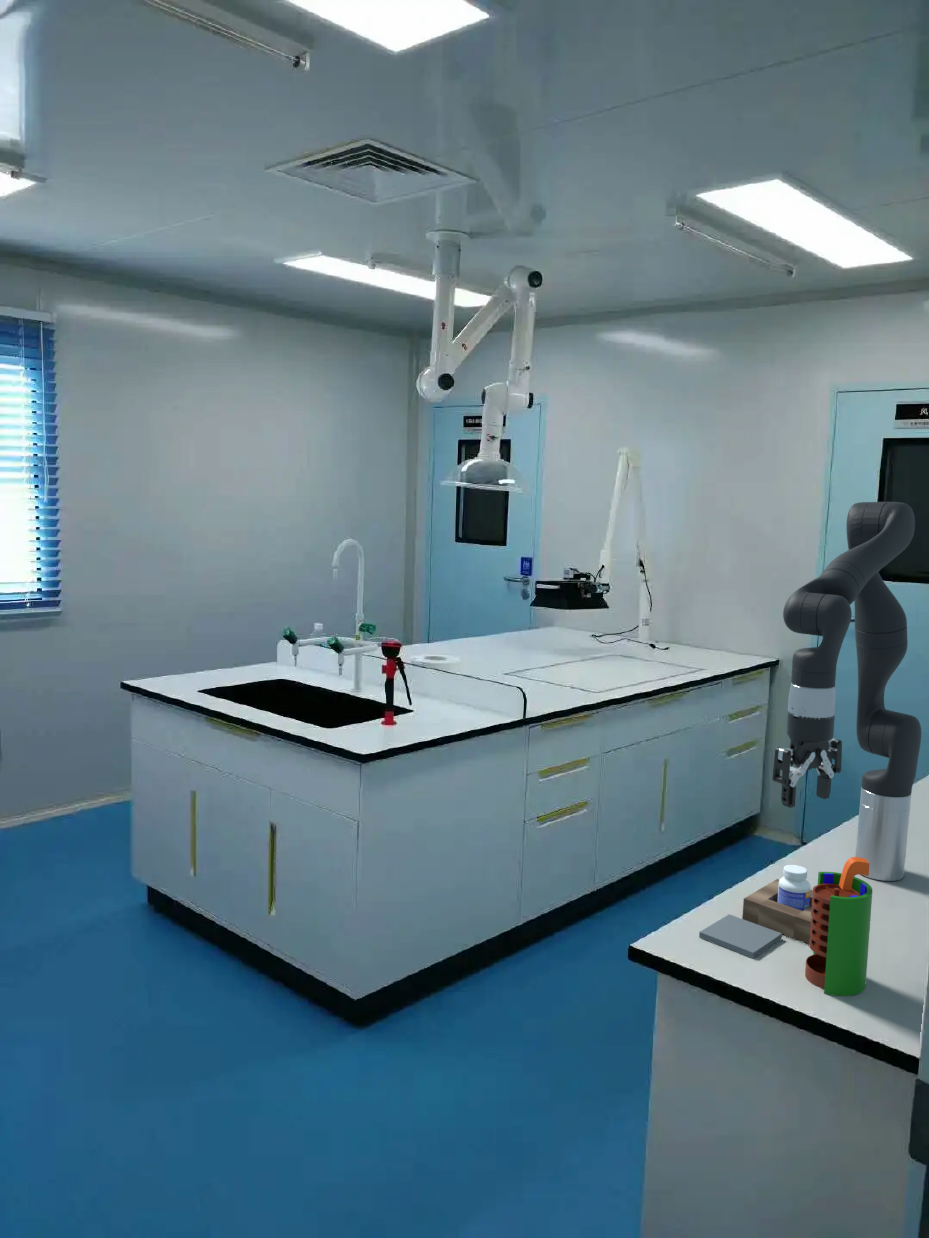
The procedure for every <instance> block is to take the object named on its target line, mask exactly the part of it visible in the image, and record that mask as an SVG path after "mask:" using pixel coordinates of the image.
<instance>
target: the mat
mask: <svg viewBox="0 0 929 1238" xmlns="http://www.w3.org/2000/svg"><path fill="white" fill-rule="evenodd" d="M698 935H699V936H698V937H699V939H702V940H705V941H707V942H710V943H713V944H715V945H718V946H719V947H720V946H721V947H723V948H725V949H727V950H731V951H733V952H736V953H738V954H740V955H744V956H746V957H749V958H751V959H754V958H757V956H759V955H760V954H761V953H763V952H765V951H766V950H768V949H769V948H770V946H771V947H772V946H773V945H775V944H776V943H778V942H779V941H781V940H782V939H781V938H782V937H783V936H782V933H779V932H777V931H774V930H771V929H768V928H766V927H763V926H760V925H757V924H755V923H752V922H749V921H746V920H744V919H742V917H738V916H736V915H733V914H731V913H730V914H727V915H726V916H724V917H722V918H721V919H719V920H717V921H716V922H714V923H712V924H710V925H709V926H707V927H706V928H704V929H702V930H701V931H699V933H698ZM780 939H781V940H780Z"/></svg>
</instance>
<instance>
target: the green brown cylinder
mask: <svg viewBox="0 0 929 1238" xmlns="http://www.w3.org/2000/svg"><path fill="white" fill-rule="evenodd" d="M869 864H870V863H869V862H868V861H867V860H866V859H864V858H859V857H855V856H852V857H849V858H848V859H847V860H846V862H845V863H844V865H843V868H842V871H841V872H836V871H835V872H833V871H818V872H817V873H818V874H817V885H815V886H813V887H812V890H813V892H812V894H813V896H814V897H813V898H812V906H813V908H812V909H811V916H812V918H811V924H810V925H811V929H810V937H811V938H810V940H809V944H808V945H809V946H808V947H809V949H810V950H811V951H812V954H811V955H809V956H807V958H806V959H805V966H804V967H805V969H804V970H805V971H804V975H805V978H806V980H807V981H808V982H809V983H810V984H812V985H813V986H815V987H817V988H820V989H822V990H823V993H824V994H827V995H829V996H830V995H831V996H836V997H837V996H838V997H849V996H850V997H852V996H856V995H858V994H861V993H862V992H863V991H864V990H865V989H866V983H867V969H868V959H869V957H868V956H869V944H870V943H869V942H870V932H871V931H870V930H871V916H872V905H873V904H872V902H873V888H872V886H871V885H870V884H869V883H868V882H867V881H865V880H863V879H861V878H858V877H856V876H857V875H861V876H863V875H866V876H869ZM866 876H865V877H866Z"/></svg>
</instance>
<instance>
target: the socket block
mask: <svg viewBox="0 0 929 1238" xmlns="http://www.w3.org/2000/svg"><path fill="white" fill-rule="evenodd" d="M779 880H780V879H778V878H776V879H775V880H773V881H771V882H768V884H766V885H763V886H762V887H760V888H759V889H758V890H756V891H755V892H752V893H750V894H749V895H747V896H746V897H744V898H743V905H742V915H741V916H742V917H741V919H744V920H746V921H749V922H752V923H755V924H757V925H760V926H763V927H766V928H768V929H771V930H774V931H777V932H779V933H782V934H784V935H783V936H785V937H788V938H792V939H793V938H795V939H794V940H796V939H797V940H796V941H800V942H801V943H805V944H808V945H809V940H810V938H811V937H810V929H811V925H810V924H811V918H812V916H811V909H812V908H813V906H812V898H813V897H814V896H813V894H812V892H813V889H810V903H809V907H808V908H807V909H805V910H804V911H801V910H798V909H795V908H792V907H789V906H786V905H784V904H781V903H778V886H779Z"/></svg>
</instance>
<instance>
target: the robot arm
mask: <svg viewBox="0 0 929 1238" xmlns="http://www.w3.org/2000/svg"><path fill="white" fill-rule="evenodd" d="M915 519H916V518H915V514H914V510H913V509H912V507H911V506H910V505H909V504H907V503H905V502H901V501H900V502H898V501H862V502H860V501H859V502H857V503H854V504H852V505H851V506H850V508H849V509H848V511H847V517H846V524H845V525H846V541H847V548H848V549H847V550H846V551H844V552H843V553H841V554H839V555H838V556H836V557H835V558H833V559H832V560H831V561H830V563H828V564H827V566H826V567H825V568H824V570H823V571H822V572H821V574H820V575H819V576H818V577H816V578H814V579H812V580H810V581H809V582H807V583H806V584H804V585H803V586H801V587H799V588H798V589H796V590H795V591H794V592H792V594H790V596H789V597H788V599H787V600H786V602H785V604H784V607H783V611H782V612H783V613H782V618H783V621H784V624H785V626H786V627H787V628H788V629H789V631H791V632H793V633H797V634H800V635H801V634H802V635H812V636H819V637H822V640H821V643H820V644H819V646H815V647H814V646H813V647H804V648H799V649H797V650H795V652H793V654H792V659H791V660H792V661H791V662H792V663H791V677H790V687H789V693H788V703H787V704H788V705H787V720H786V721H787V722H786V734H787V736H788V738H789V740H790V743H789V746H788V747H780V746H776V748H775V750H774V758H773V759H774V760H773V769H772V778H771V779H772V782H775V783H778V784H780V785H781V795H780V796H781V797H780V801H781V804H782V806H784V807H786V808H789V809H791V808H794V807H796V798H797V797H796V795H797V787H796V784H797V783H798V782H799V779H800V778H801V777H803V776H804V775H805V773H806V772H808V771H810V770H812V769H815V770H816V772H817V774H818V775H817V779H816V797H818V798H819V799H820V798H821V799H823V800H828V799H830V795H831V790H832V789H831V787H832V779H833V778H834V776H835V774H840V773H841V771H842V756H843V755H842V753H843V742H842V740H841V739H837V738H834V732H835V721H836V719H835V717H836V716H835V715H836V703H837V702H836V701H837V700H836V676H837V675H836V674H837V664H838V659H839V655H840V651H841V649H842V645H843V643H844V640H845V637H846V634H847V632H848V630H849V627H850V625H851V621H852V613H853V612H852V607H851V604H853V605H854V635H855V647H856V648H855V649H856V660H857V661H856V662H857V704H856V706H857V709H856V725H855V727H856V739H857V743H858V745H859V747H860V748H861V749H862V750H863V751H864V752H867V753H870V754H872V755H876V756H881V757H883V758H888V762H887V766H886V768H881V769H871V770H867V771H865V772H864V773H863V774H862V778H861V787H860V796H859V797H860V798H859V809H858V810H859V812H858V819H857V820H858V821H857V834H856V845H855V846H856V847H855V856H854V857H859V858H864V859H866V860H867V861H868V862H869V863H870V864H869V876H866V875H862V876H864V877H866V878H869V879H873V880H878V881H885V882H893V881H899V880H901V879H903V878H904V876H905V865H906V859H907V858H906V857H907V844H908V834H909V824H910V813H911V804H912V803H911V802H912V801H911V800H912V791H913V785H914V782H915V779H916V775H917V768H918V761H919V755H920V749H921V744H922V743H921V742H922V725H921V722H920V721H919V719H918V718H917V717H916V716H914V715H911V714H907V713H903V712H898V711H894V710H889V709H886V706H885V691H886V686H887V684H888V681H889V680H890V678H891V677H892V676H893V675H894V673H895V671H896V670H897V669H898V667H899V665H900V664H901V663H902V661H903V659H904V658H905V655H906V653H907V650H908V621H907V620H908V619H907V615H906V612H905V611H904V608H903V606H902V605H901V603H900V602H899V600H898V599H897V597H895V594H894V593H893V592H892V591H891V590H890V588H889V587H888V586H887V584H886V583H885V581H884V580H883V578H882V576H881V575H880V571H881V570H882V569H883V568H885V567H886V566H887V565H888V564H889V563H890V562H892V561H893V560H894V559H895V558H897V556H899V555H901V554H902V552H903V551H905V550H906V549H907V548H908V547H909V546H910V544H911V542H912V540H913V538H914V534H915V529H916V528H915V527H916V520H915ZM833 760H834V763H833ZM793 766H795V767H793ZM781 772H782V773H781ZM791 774H792V776H791ZM790 776H791V777H790Z"/></svg>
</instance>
